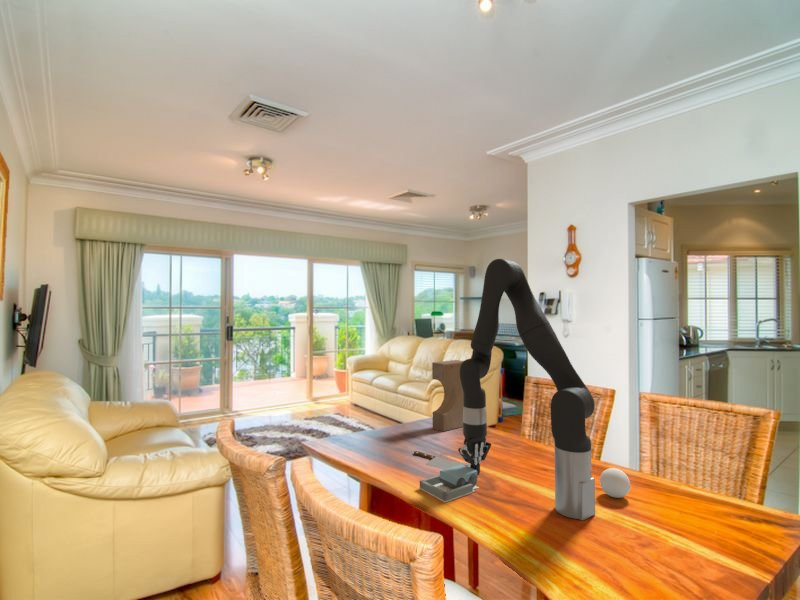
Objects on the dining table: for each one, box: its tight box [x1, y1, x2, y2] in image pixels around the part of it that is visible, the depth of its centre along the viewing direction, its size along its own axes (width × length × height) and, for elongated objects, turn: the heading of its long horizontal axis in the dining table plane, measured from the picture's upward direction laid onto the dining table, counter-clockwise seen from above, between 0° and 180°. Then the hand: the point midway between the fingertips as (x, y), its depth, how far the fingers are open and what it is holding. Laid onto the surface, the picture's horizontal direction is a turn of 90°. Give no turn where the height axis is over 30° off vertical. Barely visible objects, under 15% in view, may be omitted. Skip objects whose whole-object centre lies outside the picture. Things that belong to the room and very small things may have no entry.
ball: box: [599, 467, 631, 499], centre depth 125 cm, size 8×8×8 cm
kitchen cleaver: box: [413, 450, 471, 470], centre depth 152 cm, size 24×1×10 cm
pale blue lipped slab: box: [439, 465, 478, 489], centre depth 132 cm, size 7×10×4 cm
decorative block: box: [431, 359, 464, 433], centre depth 197 cm, size 15×8×30 cm, turn 128°
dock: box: [419, 474, 480, 503], centre depth 130 cm, size 12×15×2 cm
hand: (475, 474), depth 137 cm, fingers closed
